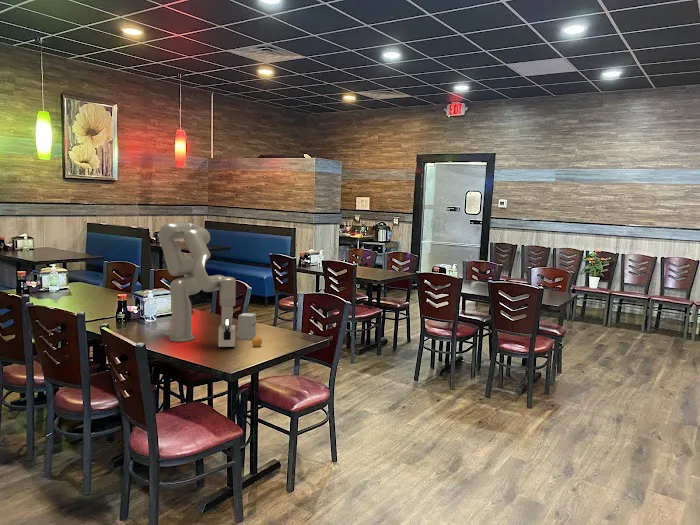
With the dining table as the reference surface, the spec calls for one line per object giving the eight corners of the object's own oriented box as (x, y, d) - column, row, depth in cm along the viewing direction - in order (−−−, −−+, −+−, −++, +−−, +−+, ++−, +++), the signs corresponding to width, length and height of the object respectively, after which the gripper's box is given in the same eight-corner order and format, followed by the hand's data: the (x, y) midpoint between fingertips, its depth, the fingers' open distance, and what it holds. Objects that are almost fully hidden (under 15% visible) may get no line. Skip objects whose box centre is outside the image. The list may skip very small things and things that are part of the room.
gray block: (218, 346, 265) (218, 328, 264) (218, 342, 272) (219, 325, 271) (234, 346, 266) (235, 328, 265) (234, 342, 274) (235, 325, 273)
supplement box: (250, 340, 284) (251, 316, 282) (237, 339, 285) (237, 315, 284) (256, 336, 291) (256, 313, 290) (243, 335, 292) (243, 312, 291)
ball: (258, 349, 271) (250, 344, 269) (258, 346, 275) (249, 341, 274) (264, 340, 271) (255, 335, 270) (263, 338, 276) (255, 333, 274)
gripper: (220, 299, 275) (219, 333, 277) (219, 305, 258) (218, 342, 260) (235, 299, 276) (235, 333, 278) (235, 305, 259) (234, 342, 261)
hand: (227, 337), depth 269 cm, fingers closed on gray block, 7 cm apart
